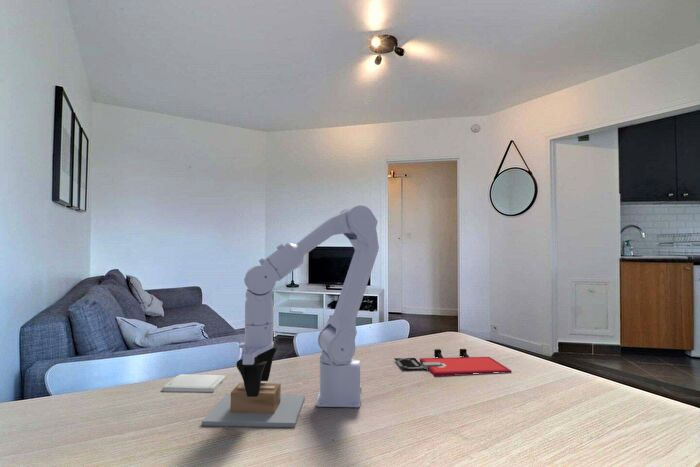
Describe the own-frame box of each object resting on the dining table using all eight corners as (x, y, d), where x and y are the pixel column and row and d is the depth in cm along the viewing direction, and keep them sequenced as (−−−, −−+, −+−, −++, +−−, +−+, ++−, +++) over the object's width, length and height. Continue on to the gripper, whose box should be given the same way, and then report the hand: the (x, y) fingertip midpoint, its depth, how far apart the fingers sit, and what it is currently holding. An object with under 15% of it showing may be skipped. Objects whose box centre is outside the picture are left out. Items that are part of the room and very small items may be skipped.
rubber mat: (304, 399, 77) (304, 395, 77) (295, 427, 65) (295, 422, 65) (225, 397, 77) (225, 394, 77) (201, 425, 65) (201, 421, 65)
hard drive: (162, 386, 80) (214, 387, 80) (180, 373, 89) (227, 374, 88) (162, 393, 80) (213, 394, 80) (180, 380, 89) (227, 380, 88)
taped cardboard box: (239, 401, 74) (239, 381, 74) (280, 402, 73) (280, 382, 73) (230, 412, 69) (230, 391, 69) (274, 413, 68) (274, 392, 68)
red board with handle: (392, 359, 105) (407, 379, 90) (392, 350, 105) (407, 368, 90) (482, 357, 109) (511, 375, 94) (483, 348, 109) (511, 365, 94)
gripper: (250, 315, 79) (250, 374, 78) (227, 330, 64) (226, 403, 64) (281, 315, 79) (280, 374, 78) (264, 331, 64) (263, 404, 64)
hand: (258, 387), depth 71 cm, fingers open, 7 cm apart
